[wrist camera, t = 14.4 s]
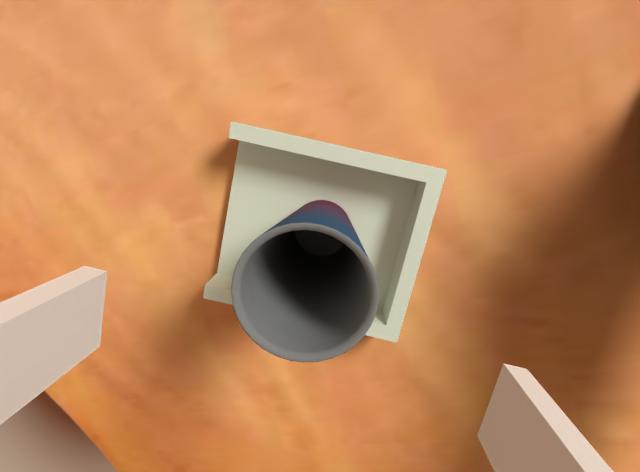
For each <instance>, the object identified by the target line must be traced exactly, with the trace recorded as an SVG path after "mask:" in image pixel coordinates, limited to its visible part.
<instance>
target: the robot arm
mask: <svg viewBox="0 0 640 472" xmlns="http://www.w3.org/2000/svg"><path fill="white" fill-rule="evenodd" d="M106 281H107V271H105V270H100V269H96V268H92V267H88V266H83V267H81V268H79V269H76V270H74V271H72V272H69V273H67V274H65V275H62V276H60V277H58V278H56V279H53V280H51V281H49V282H46V283H44V284H42V285H39V286H37V287H35V288H33V289H30V290H28V291H26V292H23V293H21V294H19V295H16V296H14V297H12V298H10V299H7V300H5V301H3V302H0V425H1V424H2V423H4V422H5V421H6V420H7V419H9V418H10V417H11V416H12V415H14V414H15V413H16V412H17V411H19V410H20V409H21V408H22V407H24V406H25V405H26V404H27V403H29V402H30V401H31V400H33V399H34V398H35V397H36V396H38V395H39V394H40V393H41V392H43V391H44V390H45V389H47V388H48V387H49V386H50V385H52V384H53V383H54V382H55V381H57V380H58V379H59V378H61V377H62V376H63V375H64V374H66V373H67V372H68V371H69V370H71V369H72V368H73V367H74V366H76V365H77V364H78V363H80V362H81V361H82V360H83V359H85V358H86V357H87V356H88V355H90V354H91V353H92V352H93V351H95V350H96V349H97V348H99V347H100V342H101V332H102V321H103V311H104V301H105V291H106ZM477 436H478V438H479V440H480V443H481V445H482V447H483V449H484V451H485V453H486V455H487V458H488V460H489V462H490V464H491V466H492V468H493V470H494V472H613V471H612V469H611V468H610V467H609V466H608V465H607V463H606V462H605V461H604V460H603V459H602V458H601V456H600V455H599V454H598V453H597V452H596V450H595V449H594V448H593V447H592V446H591V444H590V443H589V442H588V441H587V440H586V438H585V437H584V436H583V435H582V434H581V433H580V431H579V430H578V429H577V428H576V427H575V425H574V424H573V423H572V422H571V421H570V419H569V418H568V417H567V416H566V415H565V413H564V412H563V411H562V410H561V409H560V408H559V406H558V405H557V404H556V403H555V402H554V400H553V399H552V398H551V397H550V396H549V394H548V393H547V392H546V391H545V390H544V388H543V387H542V386H541V385H540V384H539V383H538V381H537V380H536V379H535V378H534V377H533V375H532V374H531V373H530V372H529V371H528V369H525V368H521V367H517V366H513V365H508V364H504V363H503V366H502V369H501V372H500V374H499V377H498V380H497V382H496V385H495V388H494V391H493V393H492V396H491V399H490V402H489V404H488V407H487V410H486V413H485V415H484V418H483V421H482V423H481V426H480V429H479V432H478V434H477Z"/></svg>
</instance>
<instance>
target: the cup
mask: <svg viewBox="0 0 640 472" xmlns="http://www.w3.org/2000/svg"><path fill="white" fill-rule="evenodd" d="M231 295H232V303H233V308H234V310H235V313H236V316H237V319H238V321H239V322H240V324H241V326H242V328H243V329H244V331H245V332H246V333H247V334H248V335H249V337H250V338H251V339H252V340H253V341H254V342H255V343H256V344H258V345H259V346H260V347H261V348H263V349H264V350H266V351H268V352H270V353H271V354H273V355H275V356H277V357H280V358H283V359H287V360H290V361H297V362H319V361H323V360H328V359H331V358H334V357H336V356H339V355H341V354H343V353H345V352H346V351H348V350H349V349H351V348H352V347H354V346H355V345H356V344H357V343H358V342H359V341H360V340H361V339H362V338H363V337H364V336H365V334H366V333H367V331H368V330H369V328H370V327H371V325H372V323H373V320H374V318H375V315H376V313H377V307H378V302H379V286H378V281H377V277H376V273H375V270H374V268H373V266H372V264H371V262H370V260H369V258H368V256H367V254H366V252H365V250H364V248H363V246H362V244H361V242H360V239H359V237H358V235H357V233H356V231H355V229H354V227H353V225H352V223H351V221H350V219H349V217H348V215H347V213H346V212H345V211H344V209H342V208H341V207H340V206H339V205H337V204H336V203H334V202H331V201H328V200H315V201H311V202H309V203H307V204H305V205H304V206H302V207H301V208H299V209H298V210H296V211H295V212H293V213H292V214H291V215H289V216H288V217H286V218H285V219H283V220H282V221H280V222H279V223H277V224H276V225H274V226H273V227H272V228H270V229H269V230H267V231H266V232H264V233H263V234H262V235H260V236H259V237H258V238H256V239H255V240H254V241H253V242H251V244H250V245H249V246H248V247H247V248H246V249H245V251H244V252H243V253H242V255H241V257H240V259H239V260H238V262H237V264H236V267H235V270H234V273H233V277H232V286H231Z"/></svg>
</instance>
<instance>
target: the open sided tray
mask: <svg viewBox="0 0 640 472" xmlns="http://www.w3.org/2000/svg"><path fill="white" fill-rule="evenodd" d="M229 138H231V139H236V140H239V144H238V150H237V156H236V162H235V168H234V174H233V180H232V186H231V192H230V198H229V204H228V210H227V216H226V222H225V228H224V234H223V240H222V246H221V252H220V258H219V264H218V270H217V273H216V274H215V275H214V276H213V277H212V278H211V279H210V280H209V281H208V282H207V283H206V284H205V288H204V295H203V298H204V299H208V300H213V301H217V302H222V303H226V304H230V305H233V303H232V295H231V286H232V277H233V273H234V270H235V267H236V264H237V262H238V260H239V259H240V257H241V255H242V253H243V252H244V251H245V249H246V248H247V247H248V246H249V245H250V244H251V242H253V241H254V240H255V239H256V238H258V237H259V236H260V235H262V234H263V233H264V232H266V231H267V230H269V229H270V228H272V227H273V226H274V225H276V224H277V223H279V222H280V221H282V220H283V219H285V218H286V217H288V216H289V215H291V214H292V213H293V212H295V211H296V210H298V209H299V208H301V207H302V206H304V205H305V204H307V203H309V202H311V201H315V200H328V201H331V202H334V203H336V204H337V205H339V206H340V207H341V208H342V209H344V211H345V212H346V213H347V215H348V217H349V219H350V221H351V223H352V225H353V227H354V229H355V231H356V233H357V235H358V237H359V239H360V242H361V244H362V246H363V248H364V250H365V252H366V254H367V256H368V258H369V260H370V262H371V264H372V266H373V268H374V270H375V273H376V277H377V281H378V286H379V302H378V307H377V313H376V315H375V318H374V320H373V323H372V325H371V327H370V328H369V330H368V331H367V333H366V334H365V335H366V336H371V337H375V338H379V339H384V340H388V341H393V342H397V341H398V337H399V334H400V331H401V327H402V324H403V320H404V317H405V313H406V310H407V307H408V303H409V300H410V296H411V293H412V289H413V286H414V282H415V279H416V276H417V272H418V269H419V265H420V262H421V258H422V255H423V252H424V248H425V245H426V241H427V238H428V234H429V231H430V228H431V224H432V221H433V217H434V214H435V210H436V207H437V203H438V200H439V197H440V193H441V190H442V186H443V183H444V179H445V176H446V173H447V170H446V169H441V168H437V167H432V166H428V165H423V164H419V163H414V162H410V161H406V160H401V159H397V158H392V157H388V156H383V155H379V154H375V153H370V152H366V151H361V150H357V149H352V148H348V147H344V146H339V145H335V144H330V143H326V142H321V141H317V140H312V139H308V138H304V137H299V136H295V135H290V134H286V133H281V132H277V131H273V130H268V129H264V128H259V127H255V126H250V125H246V124H242V123H237V122H233V121H231V126H230V133H229Z"/></svg>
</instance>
